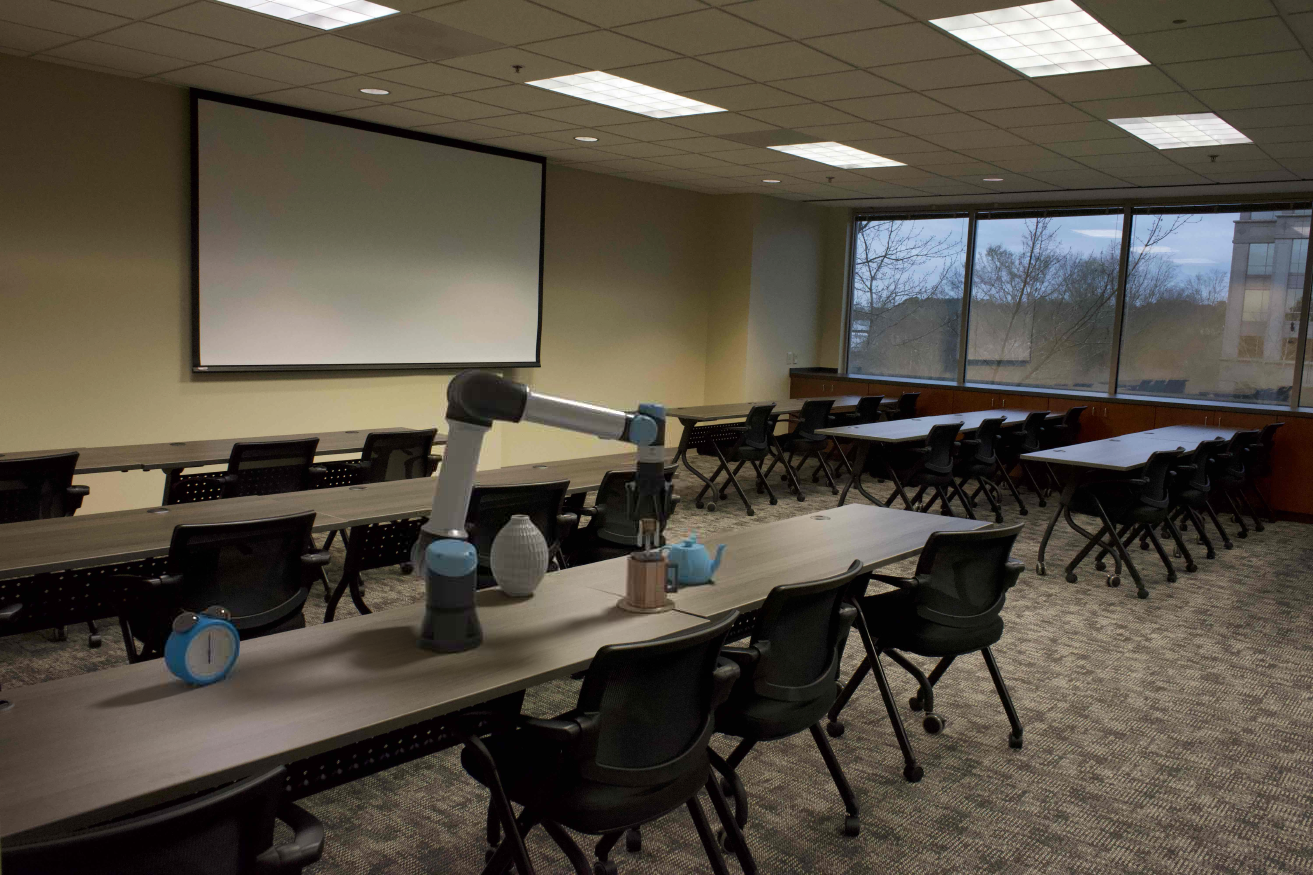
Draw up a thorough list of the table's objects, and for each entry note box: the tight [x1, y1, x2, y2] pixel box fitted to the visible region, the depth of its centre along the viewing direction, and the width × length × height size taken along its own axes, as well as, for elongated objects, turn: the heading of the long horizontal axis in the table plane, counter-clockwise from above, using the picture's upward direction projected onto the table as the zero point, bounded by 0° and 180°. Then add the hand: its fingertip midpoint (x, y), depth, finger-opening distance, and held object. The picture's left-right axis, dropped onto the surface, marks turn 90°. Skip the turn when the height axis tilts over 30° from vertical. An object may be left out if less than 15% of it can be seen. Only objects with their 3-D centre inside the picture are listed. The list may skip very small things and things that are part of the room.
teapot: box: [658, 533, 729, 585], centre depth 285 cm, size 17×19×12 cm
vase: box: [489, 514, 549, 597], centre depth 263 cm, size 16×16×22 cm
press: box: [616, 551, 679, 614], centre depth 255 cm, size 16×16×14 cm
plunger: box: [640, 518, 657, 562], centre depth 254 cm, size 7×7×20 cm
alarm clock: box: [163, 605, 241, 689], centre depth 189 cm, size 13×6×15 cm, turn 148°
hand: (647, 545), depth 254 cm, fingers closed on plunger, 4 cm apart
